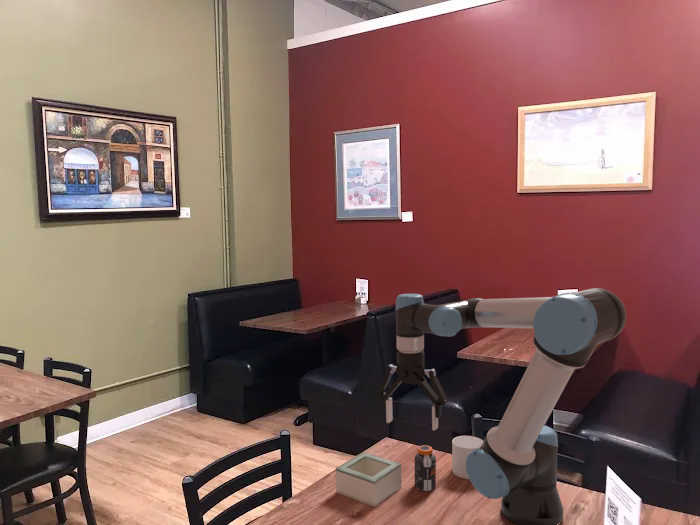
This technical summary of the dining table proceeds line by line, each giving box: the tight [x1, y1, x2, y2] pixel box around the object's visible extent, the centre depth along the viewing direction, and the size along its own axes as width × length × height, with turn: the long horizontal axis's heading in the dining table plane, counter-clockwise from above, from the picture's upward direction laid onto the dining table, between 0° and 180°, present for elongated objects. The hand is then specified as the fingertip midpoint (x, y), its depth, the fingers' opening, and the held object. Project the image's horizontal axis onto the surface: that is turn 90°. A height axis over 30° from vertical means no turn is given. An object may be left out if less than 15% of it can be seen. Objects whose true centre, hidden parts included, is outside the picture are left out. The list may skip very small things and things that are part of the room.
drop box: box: [335, 451, 402, 508], centre depth 159 cm, size 13×13×7 cm
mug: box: [451, 435, 484, 480], centre depth 170 cm, size 12×9×9 cm
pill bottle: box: [414, 444, 437, 492], centre depth 161 cm, size 6×6×11 cm
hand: (411, 425), depth 160 cm, fingers open, 13 cm apart
